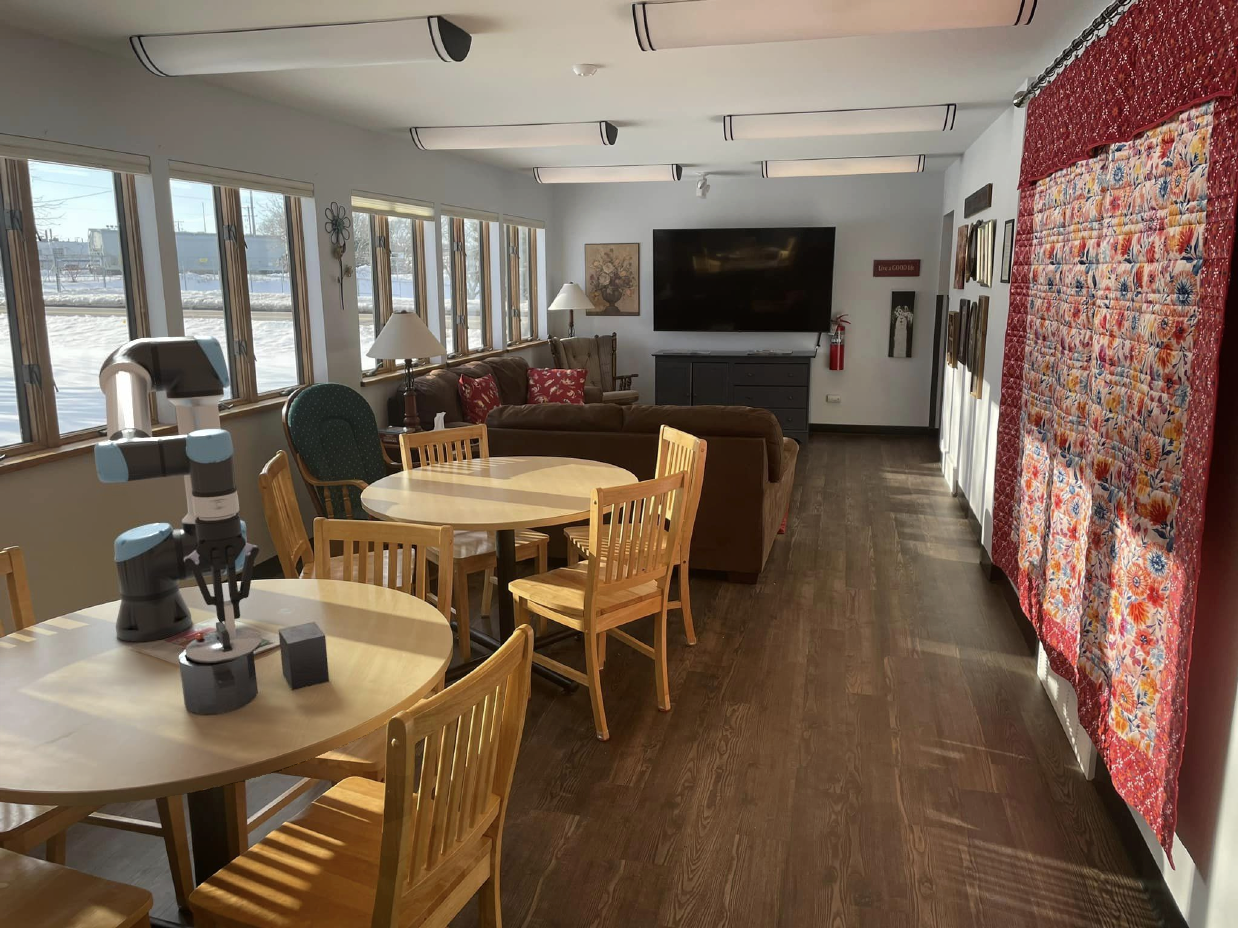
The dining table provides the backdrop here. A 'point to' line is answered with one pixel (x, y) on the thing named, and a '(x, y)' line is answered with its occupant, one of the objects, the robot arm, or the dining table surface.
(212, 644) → the lid
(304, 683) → the block
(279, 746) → the dining table surface
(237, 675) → the pot
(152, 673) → the dining table surface
